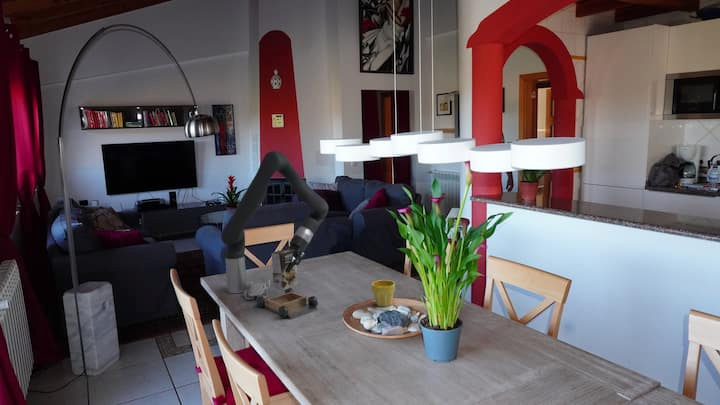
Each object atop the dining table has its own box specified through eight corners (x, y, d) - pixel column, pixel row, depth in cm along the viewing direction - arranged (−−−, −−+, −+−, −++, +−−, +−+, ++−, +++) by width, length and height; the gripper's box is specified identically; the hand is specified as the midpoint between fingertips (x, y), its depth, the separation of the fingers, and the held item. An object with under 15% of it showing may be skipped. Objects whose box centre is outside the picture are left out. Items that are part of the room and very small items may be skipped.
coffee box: (283, 290, 216) (281, 254, 214) (273, 288, 220) (270, 252, 218) (298, 284, 224) (296, 249, 221) (288, 282, 228) (285, 247, 225)
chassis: (254, 305, 227) (253, 295, 226) (285, 295, 238) (285, 285, 238) (287, 320, 208) (287, 308, 207) (320, 309, 220) (319, 298, 219)
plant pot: (368, 306, 220) (367, 285, 219) (378, 299, 229) (377, 278, 228) (389, 310, 215) (389, 288, 214) (399, 302, 224) (398, 281, 223)
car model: (271, 285, 257) (271, 275, 256) (267, 301, 233) (266, 291, 232) (249, 286, 256) (249, 276, 255) (242, 303, 232) (242, 292, 231)
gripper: (287, 232, 229) (267, 262, 223) (306, 236, 218) (285, 268, 212) (297, 241, 233) (278, 271, 227) (316, 245, 223) (296, 277, 217)
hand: (281, 269), depth 220 cm, fingers closed on coffee box, 7 cm apart
